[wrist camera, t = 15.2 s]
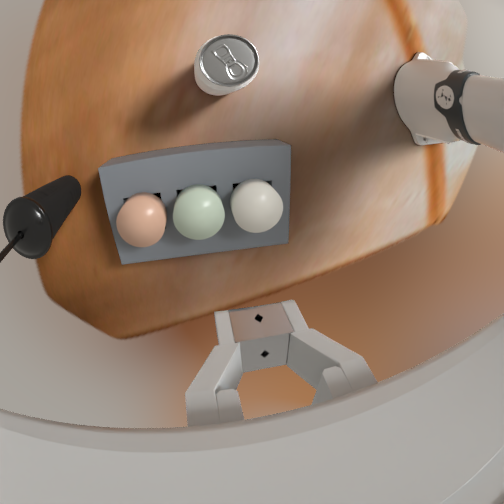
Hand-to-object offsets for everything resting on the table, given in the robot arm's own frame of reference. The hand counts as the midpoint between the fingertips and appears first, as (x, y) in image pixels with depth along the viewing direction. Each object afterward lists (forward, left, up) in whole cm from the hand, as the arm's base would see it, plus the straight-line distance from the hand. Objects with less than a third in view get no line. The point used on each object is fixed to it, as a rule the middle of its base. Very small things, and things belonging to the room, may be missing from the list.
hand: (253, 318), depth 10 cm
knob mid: (+2, +5, -30) cm, 31 cm away
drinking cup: (+22, +1, -31) cm, 38 cm away
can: (-2, -12, -31) cm, 34 cm away
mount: (+2, +5, -31) cm, 32 cm away
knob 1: (+9, +5, -30) cm, 32 cm away
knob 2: (-5, +5, -30) cm, 31 cm away
